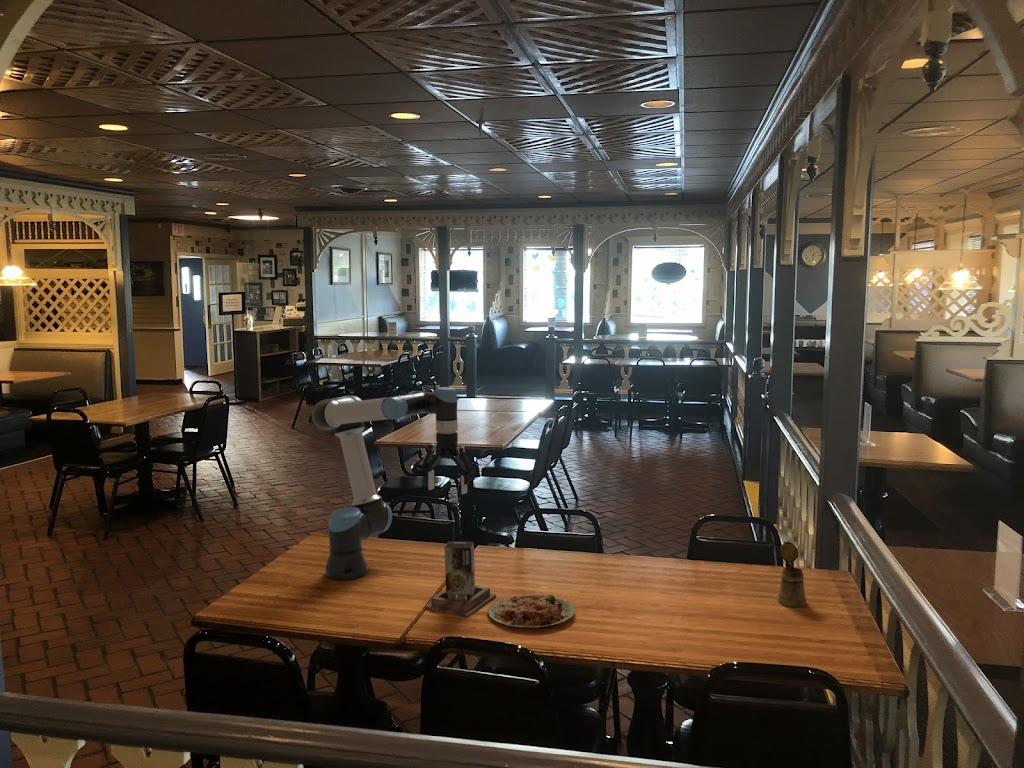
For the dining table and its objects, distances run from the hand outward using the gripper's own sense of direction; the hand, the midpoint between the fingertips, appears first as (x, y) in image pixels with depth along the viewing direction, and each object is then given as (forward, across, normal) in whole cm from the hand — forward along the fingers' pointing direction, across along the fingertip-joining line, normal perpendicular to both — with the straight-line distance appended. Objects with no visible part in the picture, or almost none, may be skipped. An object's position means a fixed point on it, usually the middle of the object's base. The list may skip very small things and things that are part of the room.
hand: (447, 491), depth 278 cm
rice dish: (+33, +39, -13) cm, 53 cm away
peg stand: (+33, +14, -15) cm, 39 cm away
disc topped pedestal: (+33, +111, +36) cm, 121 cm away
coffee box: (+29, +14, -15) cm, 35 cm away
